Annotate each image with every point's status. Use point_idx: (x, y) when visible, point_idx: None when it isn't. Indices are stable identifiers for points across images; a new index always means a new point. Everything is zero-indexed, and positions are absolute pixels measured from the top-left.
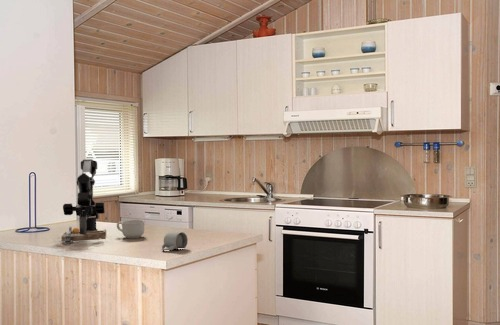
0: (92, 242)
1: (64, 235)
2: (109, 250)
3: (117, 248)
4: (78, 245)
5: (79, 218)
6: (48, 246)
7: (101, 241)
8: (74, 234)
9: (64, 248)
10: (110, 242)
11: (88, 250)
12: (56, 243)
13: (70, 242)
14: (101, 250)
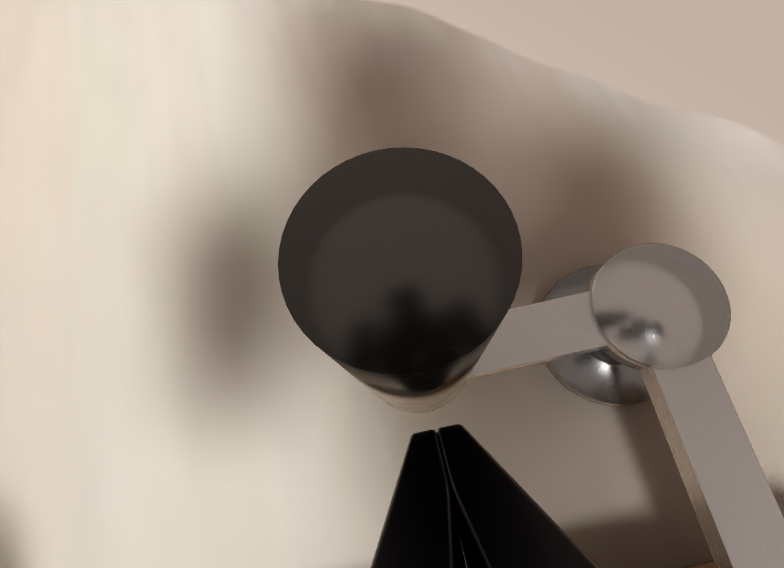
0: (303, 362)
1: (671, 251)
2: (90, 9)
3: (28, 71)
4: None
5: (480, 195)
6: (741, 168)
7: (204, 419)
8: (536, 304)
9: (505, 77)
10: (94, 344)
11: (257, 9)
12: (754, 334)
13: (552, 289)
14: (152, 9)
